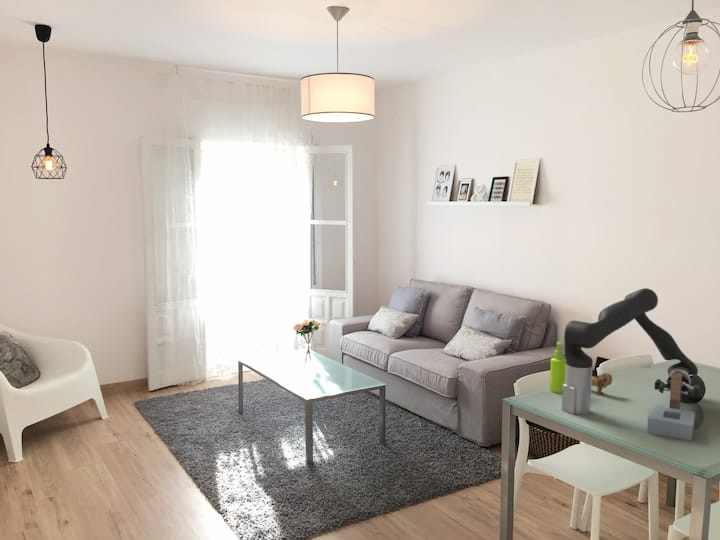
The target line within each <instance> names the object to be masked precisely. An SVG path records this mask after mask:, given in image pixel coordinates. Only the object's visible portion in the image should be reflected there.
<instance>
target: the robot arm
mask: <svg viewBox="0 0 720 540" xmlns="http://www.w3.org/2000/svg"><path fill="white" fill-rule="evenodd" d="M658 302H659V297H658V295H657V293H656V292H655V291H654V290H652V289H650V288H647V287H646V288H645V287H644V288H640V289H637V290H636V291H632V292H631V293H628V294H627V295H626V296H625V297H624V299H623V300H619V301H617V302H614V303H613V304H610V305H608V306H607V307H605V308H603V309H602V310H601V311H600V312H599V314H598V317H597V321H595V322H585V321H579V320H570V321H569V322H568V323H567V324H566V326H565V329H564V335H563V338H564V351H563V355H564V359H566V370H565V384H563V390H562V393H561V396H562V397H561V410H563V411H565V412H567V413H570V414H572V415H587V414H589V413H591V405H592V401H591V400H592V399H591V398H592V376H593V362H594V361H593V358H592V357H591V356H590V355H588V354H587V353H586V352H584V350H583V349H592V348H594V347H596V346H597V345H599V344H600V342H602V340H604V339H605V338H607V337H608V336H610V335H611V334H612V333H615V332H616V331H617V330H620V329H621V328H623V327H625V326H626V325H628V324H629V323H631V322H632V321H634V320H635V321H636V322H637V324H638V325H639V326H640V327H641V328H642V330H643V331H644V332H645V333H646V334H647V335H648V337H649V338H650V340H651V341H652V342H653V343H654V345H655V347H656V348H657V350H658V352H660V355H661V357H662V358H663V360H665V361H674V360H677V361H679V362H676V363H675V364H672V365H670V366H668V368H667V374H668V378H667V380H665V381H662V380H661V379H660V378H658V379H656V380H655V382H654V389H653V390H656V391H657V390H658V392H660V394H664V392H667V393H668V392H670V391H671V376H672V373H678V374H682V384H681V395H682V394H683V395H687V398H691V397H693V396H695V397H696V396H697V397H699V396H700V385H699V384H695V385H691V384H692V382H691V381H692V378H691V379H690V374H688V373H692V374H695V375H696V376H697V375H698V373H699V372H698V371H699V370H698V367H697V365H696V364H695V363H694V362H693V361H692V360H691V359H690V358H688V356H686V355H685V353H684V352H683V351H682V350H681V349H680V347H679V346H678V344H677V342H676V340H675V339H674V337H673V336H672V335H671V334H670V333H669V332H668V331H667V330H666V329H664V328H662V327H660V326H659V325H658V324H656V323H655V322H654V321H652V320H651V319H650V318H649V317H648V316H647V314H646V313H648V312H651V311H653V310H654V309H655V308H656V307H657V306H658ZM582 348H583V349H582Z"/></svg>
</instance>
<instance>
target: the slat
mask: <svg viewBox="0 0 720 540" xmlns="http://www.w3.org/2000/svg"><path fill="white" fill-rule="evenodd" d="M681 384H682V374H678V373H672V376H671V391H669V407H668V408H672V409H678V410H681V398H682V397H681V396H682V394H681Z"/></svg>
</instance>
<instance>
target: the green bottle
mask: <svg viewBox="0 0 720 540" xmlns="http://www.w3.org/2000/svg"><path fill="white" fill-rule="evenodd" d="M562 343H563V342H562V341H556V349H555V350H554V357H552V358H550V376H549V377H550V378H549V391H550V390H551V391H553V392H552V393H555V392H556V394H557V393H558V394H562V390H563V384H565V370H566V359H565V358H564V351H563V350H562ZM551 391H550V392H551Z"/></svg>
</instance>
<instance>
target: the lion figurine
mask: <svg viewBox="0 0 720 540" xmlns="http://www.w3.org/2000/svg"><path fill="white" fill-rule="evenodd" d="M612 376H613V375H612V374H611V373H609V372H604V373H602V374H598V375H596V376H593V375H592V385H591V387H593V386H594V387H596V389H597V391H596V392H597V395H598V396H602V394H601V393H603V394H604V391H602V390H603V389H606V388H607V386H610V385H611V384H612V383H613V377H612Z"/></svg>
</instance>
